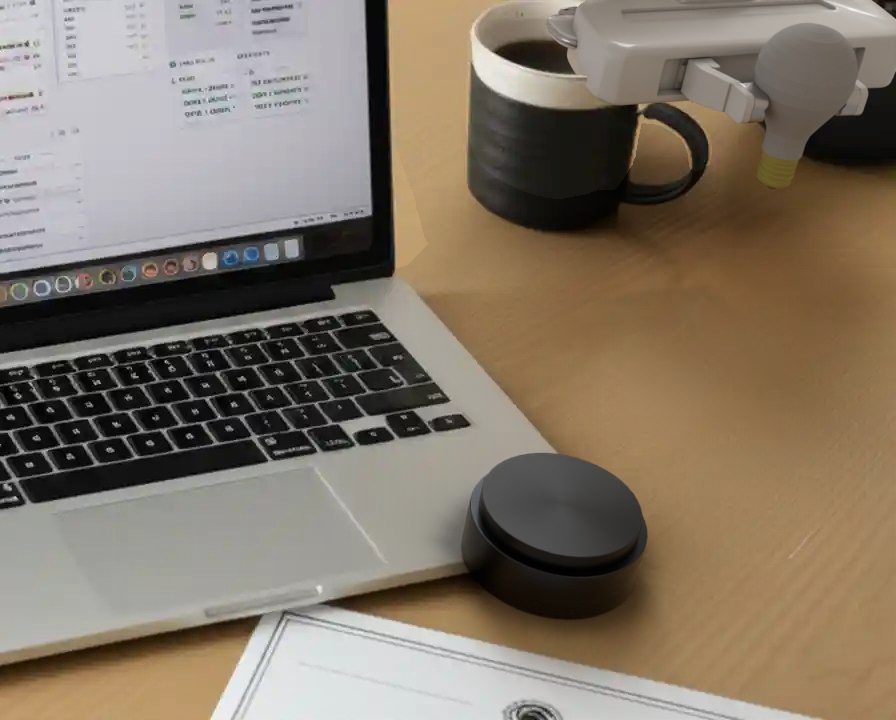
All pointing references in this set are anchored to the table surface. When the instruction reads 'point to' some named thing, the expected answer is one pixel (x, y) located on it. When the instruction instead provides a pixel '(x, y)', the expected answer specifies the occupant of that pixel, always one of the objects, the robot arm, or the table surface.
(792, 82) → the light bulb
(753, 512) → the table surface
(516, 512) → the black round lamp base
